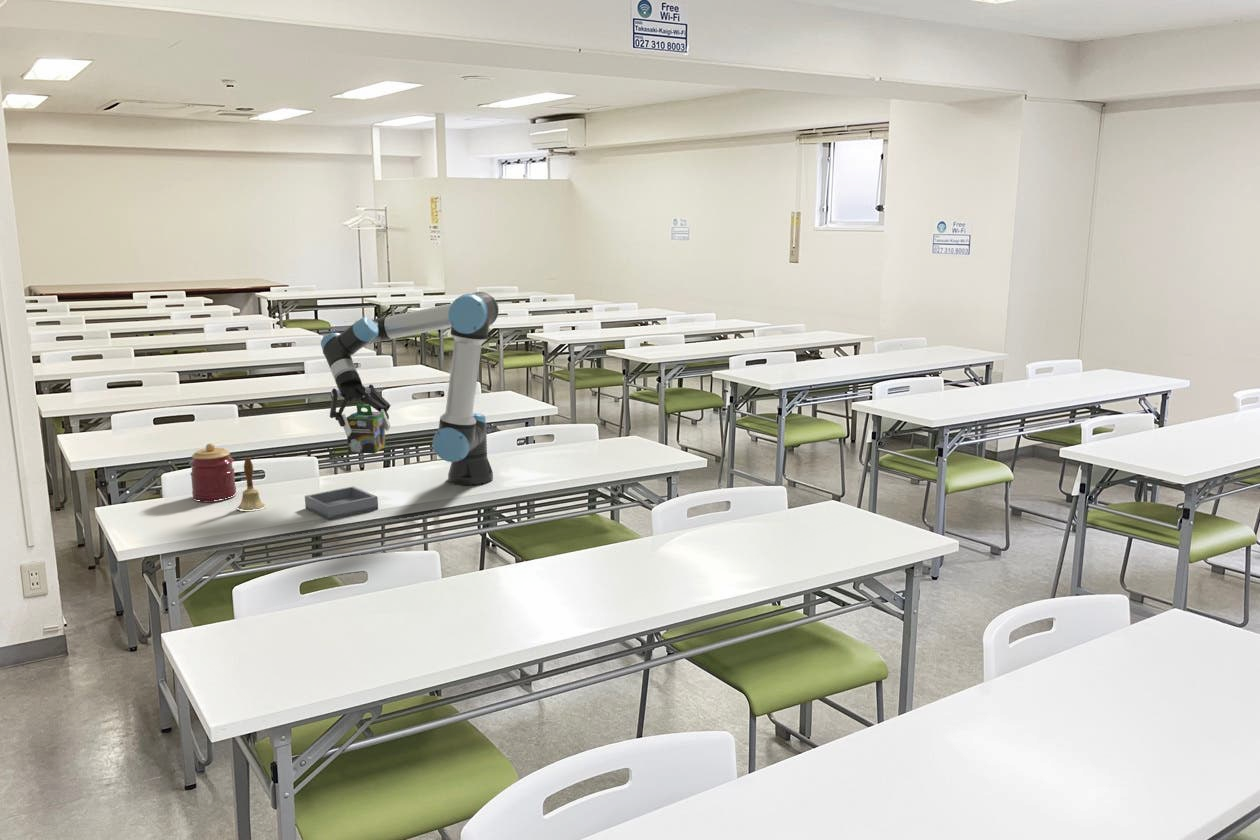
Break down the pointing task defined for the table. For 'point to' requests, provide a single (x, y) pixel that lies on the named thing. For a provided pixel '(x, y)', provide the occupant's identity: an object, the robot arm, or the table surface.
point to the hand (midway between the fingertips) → (369, 431)
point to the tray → (341, 502)
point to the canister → (212, 474)
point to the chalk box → (366, 431)
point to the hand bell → (250, 490)
